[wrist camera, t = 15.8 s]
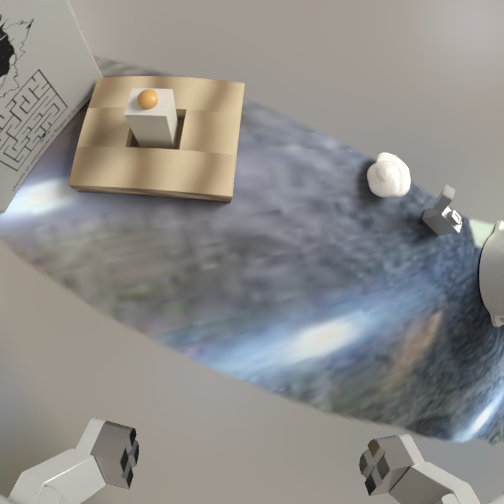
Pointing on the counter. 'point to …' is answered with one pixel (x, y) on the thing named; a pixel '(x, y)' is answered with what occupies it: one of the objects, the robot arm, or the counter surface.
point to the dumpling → (388, 176)
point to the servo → (152, 117)
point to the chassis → (158, 159)
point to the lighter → (443, 214)
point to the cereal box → (38, 83)
